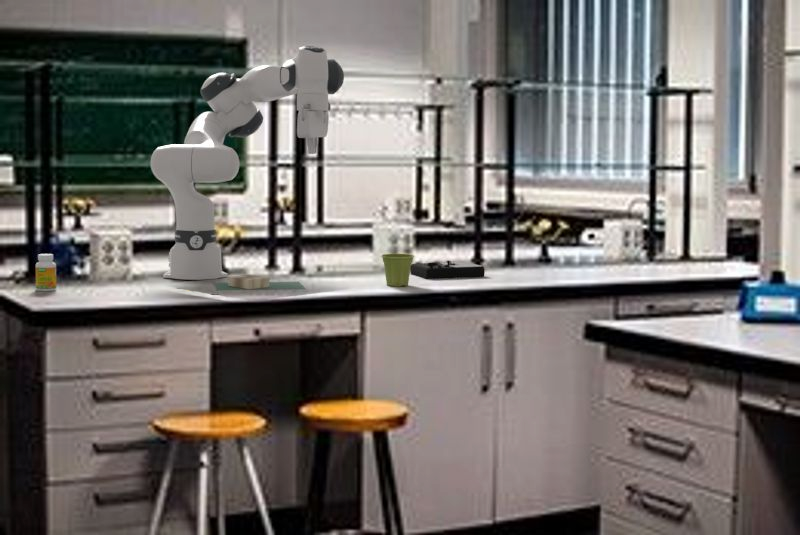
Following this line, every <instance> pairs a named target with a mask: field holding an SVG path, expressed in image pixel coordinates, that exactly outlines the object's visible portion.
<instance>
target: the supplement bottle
mask: <svg viewBox="0 0 800 535" xmlns="http://www.w3.org/2000/svg"><path fill="white" fill-rule="evenodd" d="M37 260H38V262H36V264H35V290H36V291H37V292H53V291H56V290H57V264H56V262H54V261H53V260H54V254H53V253H40V254H37Z"/></svg>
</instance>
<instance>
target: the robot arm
mask: <svg viewBox="0 0 800 535" xmlns="http://www.w3.org/2000/svg"><path fill="white" fill-rule="evenodd" d="M344 73H345V72H344V68H342V66H341V65H340V63H338V62H337V60H336V59H332V58H330V59H328V56H327V51H326V50H325V49H324V48H322V47H319V46H313V45H304V46H301V47H299V49H298V51H297V54H296V55H295V56H294V57H293V58H291V59H287V60H286V61H285V62H284V63H283V64H282V65H281V66H280V65H273V64H263V65H259V66H256V67H254V68H252V69H250V70H248V71H247V72H246V73H244V75H243V76H242V77H240V78H237V77H236V73H233V72H232V73H231V74H230V73H227V72H217V73H215V74H212V75H210V76H209V77H207V78H206V80H204V82H203V84H202V86H201V88H200V90H199V91H200V95H201V97H202V98H203V101H204V102H206V103H207V105H208V106H209V107H210V108H211V110H212V111H204V112H202V113H200V114H199V115H198V116H197V117H196V118H194V120H193V121H192V123H191V125H190V127H188V131H187V133H186V136H185V137H184V141H183V144H179V143H178V144H176V143H174V144H173V143H172V144H167V145H162V146H157V148H155V150H153V153H152V155H151V157H150V161H149V162H150V163H149V164H150V169H151V171H152V174H153V175H154V177H155V178H156V179H157V180H159V181H160V182H161V183H162V184H163V185H165V186H166V188H167V189H168V191H169V192H170V194H171V196H172V199H173V202H174V208H175V219H176V220H175V222H176V224H175V225H176V229H175V230H174V241H175V244H174V245H173V246H172V247H171V248H170V251H169V252H168V262H169V263H168V267H169V270H168V271H166V272H164V273H163V276H162V278H164V279H173V280H174V279H175V280H189V281H190V280H191V281H196V280H197V281H198V280H199V281H200V280H214V279H215V280H216V279H219V278H228V277H229V274H228V273H227V272H225V271H223V270H222V269H223V268H222V266H223V265H222V249H221V248H220V246H218V245H217V244H216V242H217V230H216V229H215V205H214V202H213V201H212V199H210V198H209V197H207V196H206V195H204V194H202V193H200V192H198V191H197V190H196V188H195V186H194V183H209V184H210V183H212V184H213V183H214V184H216V183H223V182H228V181H233V179H234V178H236V176H237V174H238V173H239V169H240V159H239V158H240V157H239V156H238V154H237V152H236V151H235V150H234V149H233V147H229V146H227V145H225V144H224V141H225V138H226V136H227V134H228V137H230V138H234V137H236V138H248V137H249V136H252V135H254V134H255V133H256V132H257V131H258V130H259V129H260V127H261V125H262V124H263V123H264V116H263V114H262V112H261V110H260V109H259V108H258V107H257V106H256V104H254V102H255V103H268V102H273V101H276V100H279V99H283V98H286V97H289V96H293V95H296V111H298V113H297V121H296V122H297V123H296V124H297V126H296V135H297V137H298V138H299V139H300V138H301V139H306V145H307V153H308V154H309V155H316V154H317V152H318V150H317V149H318V144H319V138H326V137H327V135H328V131H329V118H330V117H329V112H330V111H331V103H330V102H329V95H335V94H336V93H337V92H338V91H339V90H340V89H341V87H343V84H344V80H345V74H344Z"/></svg>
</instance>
